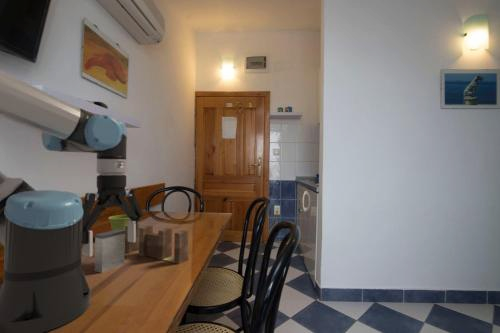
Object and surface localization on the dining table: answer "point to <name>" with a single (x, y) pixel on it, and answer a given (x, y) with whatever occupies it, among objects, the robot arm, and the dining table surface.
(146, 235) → the brown long notched block
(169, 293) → the dining table surface
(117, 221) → the plant pot
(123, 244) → the bracket plate
